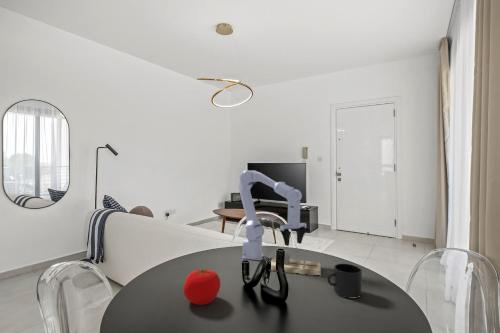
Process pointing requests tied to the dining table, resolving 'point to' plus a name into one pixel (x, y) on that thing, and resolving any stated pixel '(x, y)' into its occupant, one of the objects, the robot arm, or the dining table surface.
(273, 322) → the dining table surface
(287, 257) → the fader tab
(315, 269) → the board
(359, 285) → the mug
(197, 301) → the tomato
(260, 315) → the dining table surface
